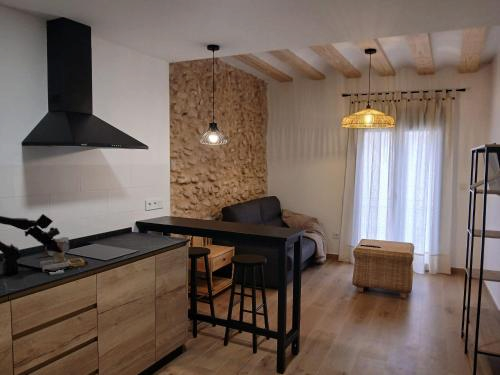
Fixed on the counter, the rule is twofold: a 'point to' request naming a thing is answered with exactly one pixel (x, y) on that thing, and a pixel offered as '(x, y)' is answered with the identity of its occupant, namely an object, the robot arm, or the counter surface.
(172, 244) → the counter surface
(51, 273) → the pad
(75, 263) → the trap tray
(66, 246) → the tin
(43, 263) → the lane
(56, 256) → the beech block
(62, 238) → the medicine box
